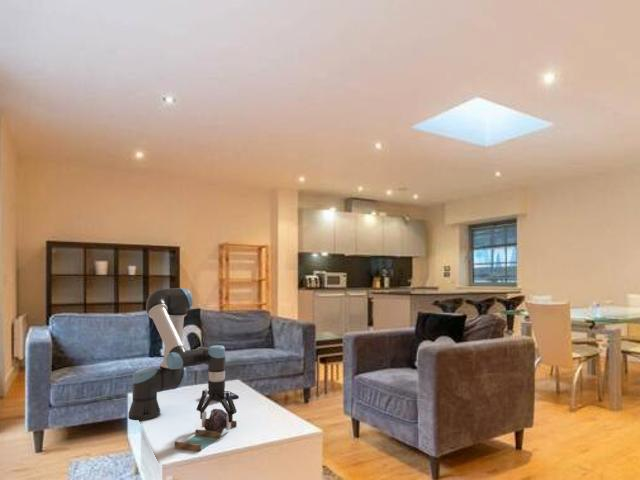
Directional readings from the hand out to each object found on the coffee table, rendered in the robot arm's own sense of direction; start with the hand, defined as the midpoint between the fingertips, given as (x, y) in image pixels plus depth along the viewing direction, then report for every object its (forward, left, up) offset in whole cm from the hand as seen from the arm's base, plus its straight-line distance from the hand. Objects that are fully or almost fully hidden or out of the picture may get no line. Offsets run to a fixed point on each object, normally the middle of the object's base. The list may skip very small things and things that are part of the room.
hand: (216, 427), depth 206 cm
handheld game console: (-25, +50, -2) cm, 56 cm away
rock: (+1, 0, -1) cm, 1 cm away
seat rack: (0, -8, -1) cm, 8 cm away
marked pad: (0, -15, -1) cm, 15 cm away
